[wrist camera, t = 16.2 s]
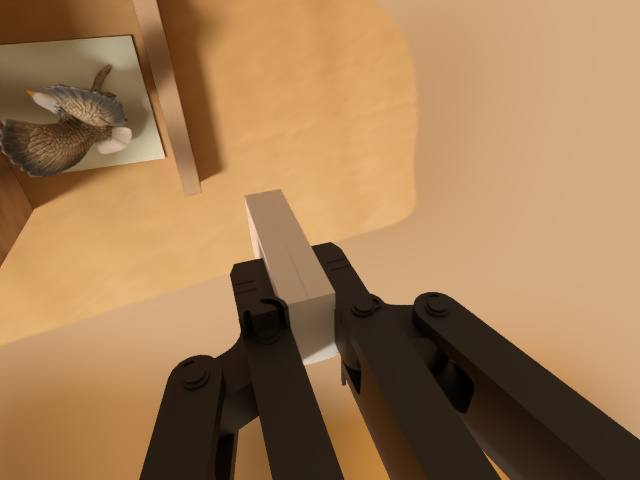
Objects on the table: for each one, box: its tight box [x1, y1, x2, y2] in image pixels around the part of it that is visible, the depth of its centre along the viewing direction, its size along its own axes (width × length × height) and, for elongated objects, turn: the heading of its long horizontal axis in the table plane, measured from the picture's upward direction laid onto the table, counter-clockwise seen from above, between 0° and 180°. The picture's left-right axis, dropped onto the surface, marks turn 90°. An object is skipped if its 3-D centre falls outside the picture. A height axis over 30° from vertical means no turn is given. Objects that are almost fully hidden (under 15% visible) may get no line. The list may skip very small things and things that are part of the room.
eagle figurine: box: [0, 65, 132, 177], centre depth 28 cm, size 8×7×9 cm
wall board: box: [0, 0, 202, 267], centre depth 25 cm, size 24×16×10 cm, turn 2°
